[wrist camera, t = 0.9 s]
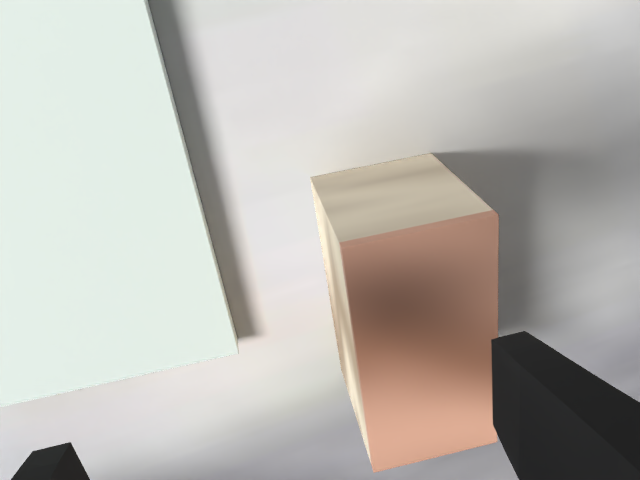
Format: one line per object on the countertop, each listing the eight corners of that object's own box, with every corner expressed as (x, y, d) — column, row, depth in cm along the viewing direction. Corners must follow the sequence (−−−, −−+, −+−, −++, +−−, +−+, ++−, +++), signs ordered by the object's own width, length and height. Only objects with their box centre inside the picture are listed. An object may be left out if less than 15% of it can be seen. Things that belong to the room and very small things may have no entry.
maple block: (440, 345, 22) (497, 442, 18) (340, 368, 22) (373, 472, 17) (429, 151, 18) (498, 214, 14) (309, 175, 18) (341, 247, 14)
